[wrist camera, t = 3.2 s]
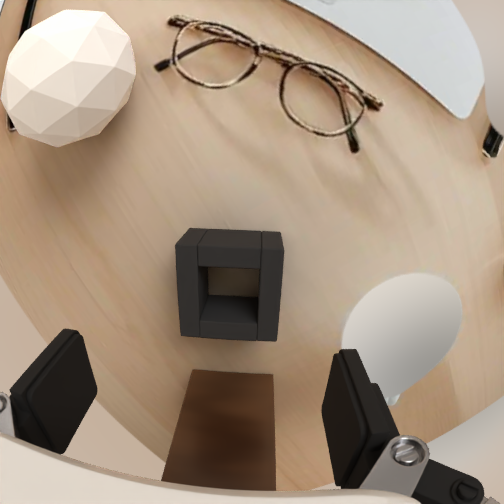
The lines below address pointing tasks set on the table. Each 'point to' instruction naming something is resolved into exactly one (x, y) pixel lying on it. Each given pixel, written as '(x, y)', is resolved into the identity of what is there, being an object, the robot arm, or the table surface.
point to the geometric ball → (68, 77)
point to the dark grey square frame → (220, 306)
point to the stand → (225, 433)
